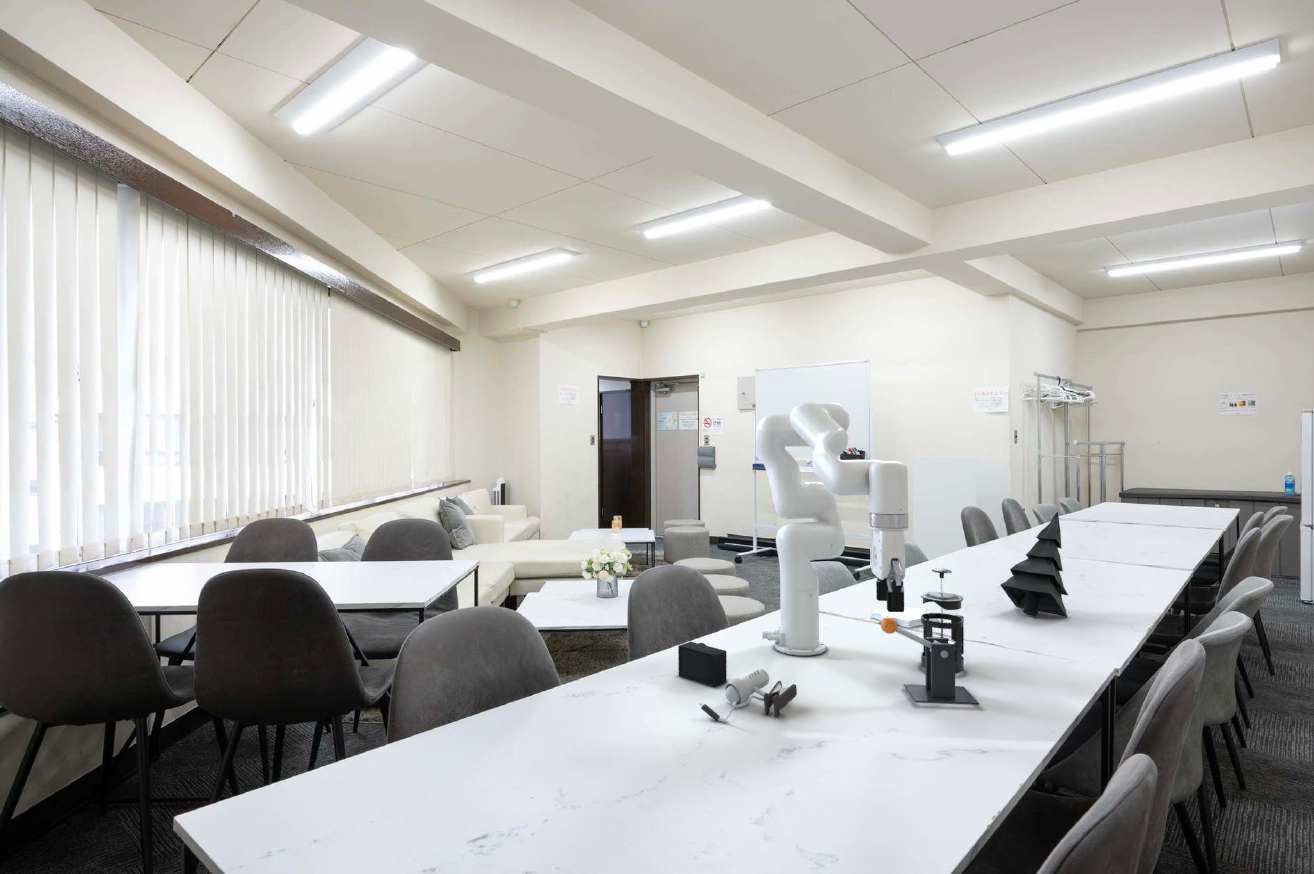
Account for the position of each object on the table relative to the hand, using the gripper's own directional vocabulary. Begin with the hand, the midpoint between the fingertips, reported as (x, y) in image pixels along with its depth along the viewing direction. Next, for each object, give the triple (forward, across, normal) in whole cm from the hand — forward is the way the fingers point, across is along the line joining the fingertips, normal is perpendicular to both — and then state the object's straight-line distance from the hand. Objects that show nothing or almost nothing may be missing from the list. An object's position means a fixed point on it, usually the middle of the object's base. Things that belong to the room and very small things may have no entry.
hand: (889, 605), depth 139 cm
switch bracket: (+19, 0, +10) cm, 21 cm away
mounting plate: (+18, -62, +18) cm, 67 cm away
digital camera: (+19, -8, -38) cm, 43 cm away
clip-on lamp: (+19, +10, -29) cm, 36 cm away
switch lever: (+8, 0, +4) cm, 9 cm away
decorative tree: (+18, -74, +61) cm, 98 cm away
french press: (+19, -18, +16) cm, 31 cm away
